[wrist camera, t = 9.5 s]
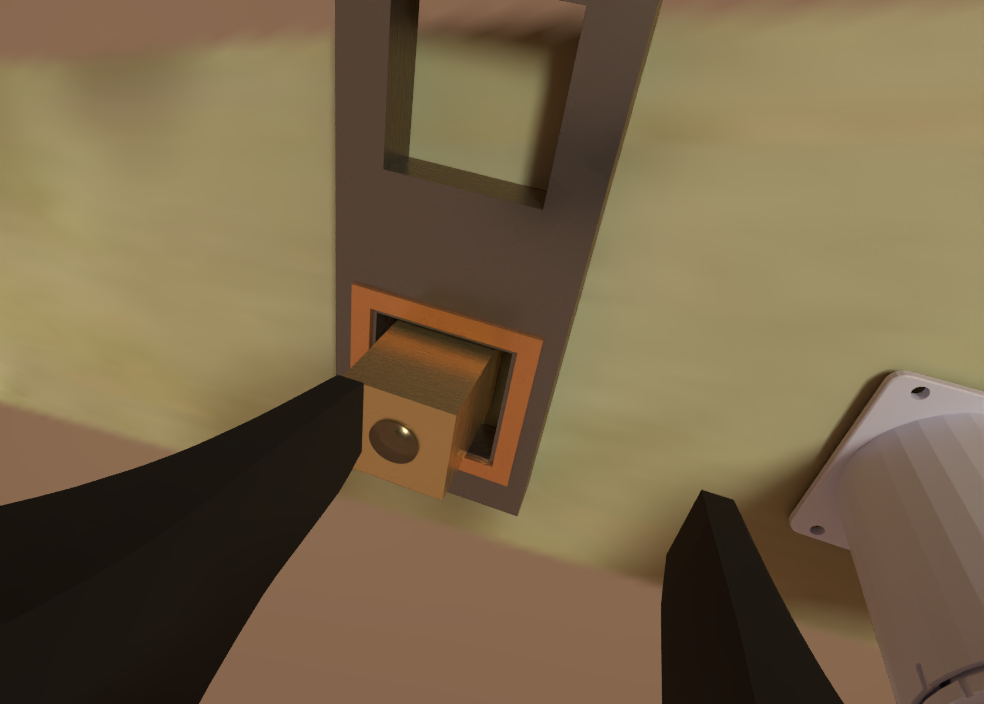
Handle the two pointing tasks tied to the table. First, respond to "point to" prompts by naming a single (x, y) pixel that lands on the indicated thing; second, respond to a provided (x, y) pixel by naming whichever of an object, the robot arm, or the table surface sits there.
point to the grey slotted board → (475, 221)
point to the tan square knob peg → (422, 404)
